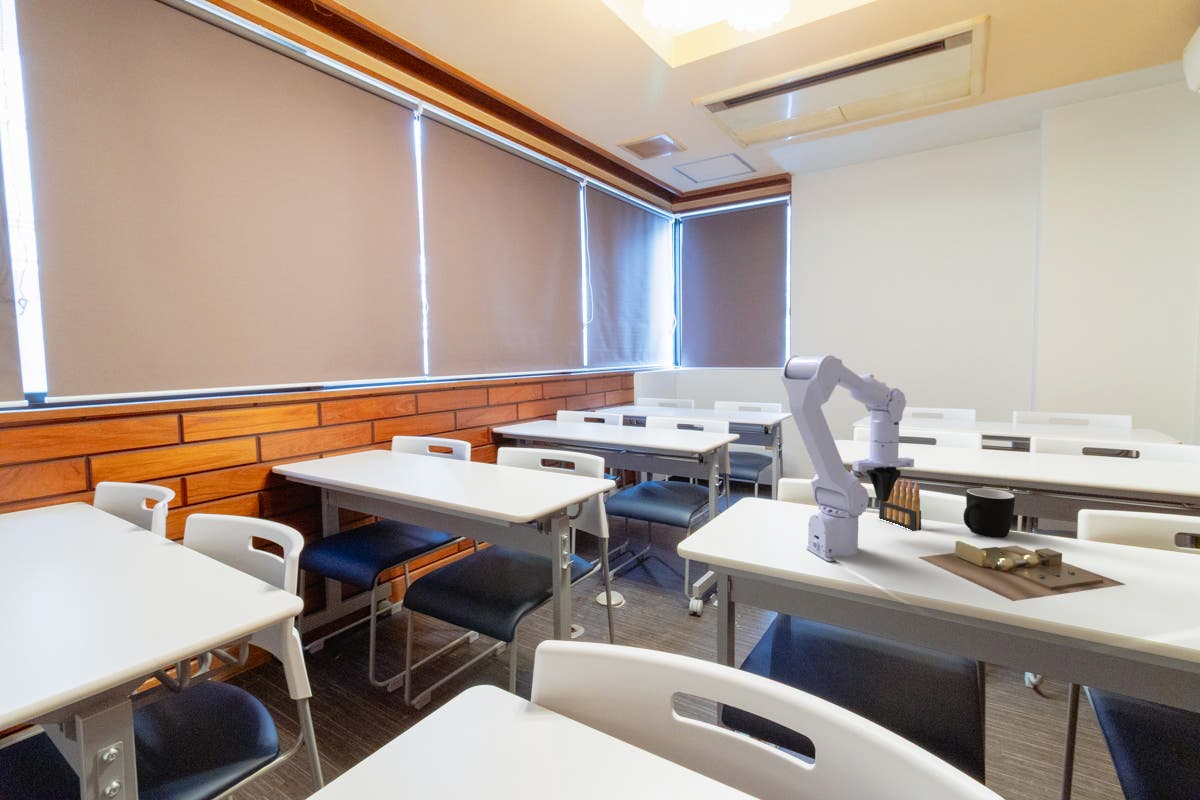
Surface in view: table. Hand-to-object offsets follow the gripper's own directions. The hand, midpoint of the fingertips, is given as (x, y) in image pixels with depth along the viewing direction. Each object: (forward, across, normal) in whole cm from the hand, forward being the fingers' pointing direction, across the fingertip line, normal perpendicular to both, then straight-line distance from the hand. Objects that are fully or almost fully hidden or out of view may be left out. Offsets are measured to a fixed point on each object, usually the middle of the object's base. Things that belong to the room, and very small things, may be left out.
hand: (882, 500), depth 120 cm
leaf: (+8, +13, -18) cm, 24 cm away
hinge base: (+9, +15, -26) cm, 31 cm away
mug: (+10, +24, -4) cm, 26 cm away
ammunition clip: (+10, +12, +8) cm, 17 cm away
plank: (+9, +11, -22) cm, 26 cm away
